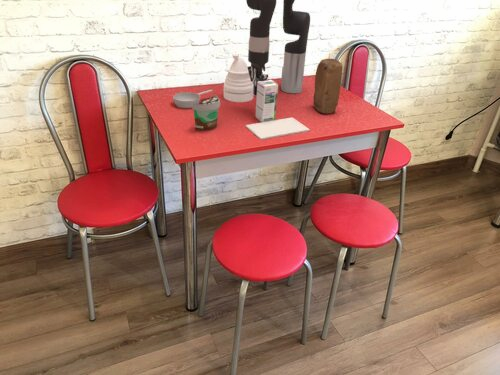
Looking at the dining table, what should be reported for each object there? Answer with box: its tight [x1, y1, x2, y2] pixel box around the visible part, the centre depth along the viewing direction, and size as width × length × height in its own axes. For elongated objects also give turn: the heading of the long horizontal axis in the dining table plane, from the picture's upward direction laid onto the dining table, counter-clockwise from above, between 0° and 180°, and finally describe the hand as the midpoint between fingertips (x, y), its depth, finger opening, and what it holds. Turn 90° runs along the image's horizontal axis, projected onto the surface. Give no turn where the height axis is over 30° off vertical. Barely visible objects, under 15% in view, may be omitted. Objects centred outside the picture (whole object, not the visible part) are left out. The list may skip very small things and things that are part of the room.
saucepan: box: [172, 89, 213, 109], centre depth 171 cm, size 11×18×4 cm, turn 131°
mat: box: [245, 117, 311, 141], centre depth 153 cm, size 12×20×1 cm, turn 117°
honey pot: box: [223, 53, 255, 103], centre depth 175 cm, size 13×13×18 cm
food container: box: [191, 94, 221, 131], centre depth 150 cm, size 12×6×10 cm, turn 148°
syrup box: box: [255, 79, 279, 123], centre depth 156 cm, size 6×6×14 cm
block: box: [312, 58, 343, 115], centre depth 166 cm, size 11×8×20 cm
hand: (256, 94), depth 162 cm, fingers closed
